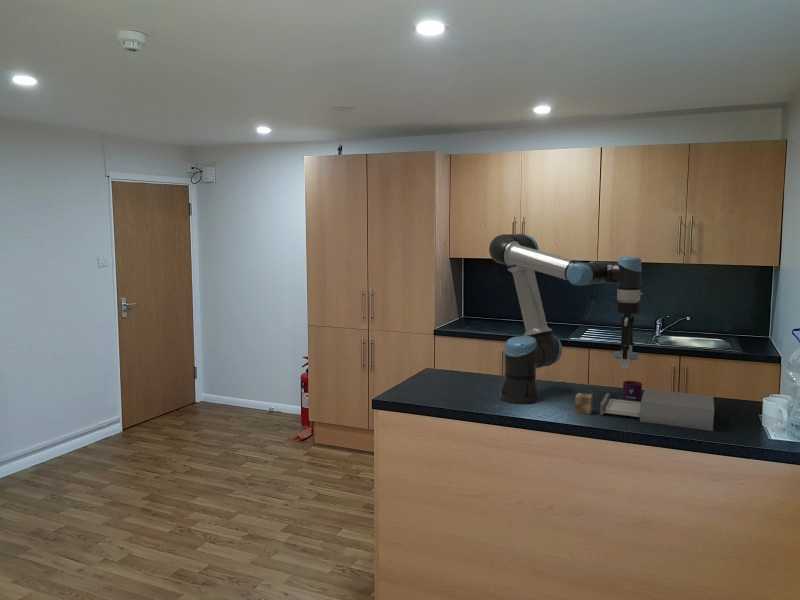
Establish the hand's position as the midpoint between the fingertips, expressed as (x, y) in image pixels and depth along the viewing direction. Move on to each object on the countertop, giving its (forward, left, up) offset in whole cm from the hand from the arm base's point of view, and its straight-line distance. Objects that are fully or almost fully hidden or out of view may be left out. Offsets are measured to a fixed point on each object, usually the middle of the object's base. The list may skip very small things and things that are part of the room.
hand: (626, 365), depth 213 cm
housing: (+17, 0, -17) cm, 24 cm away
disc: (0, 0, +3) cm, 3 cm away
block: (-13, -6, -17) cm, 22 cm away
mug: (+1, +19, -17) cm, 26 cm away
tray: (+2, 0, -17) cm, 17 cm away
